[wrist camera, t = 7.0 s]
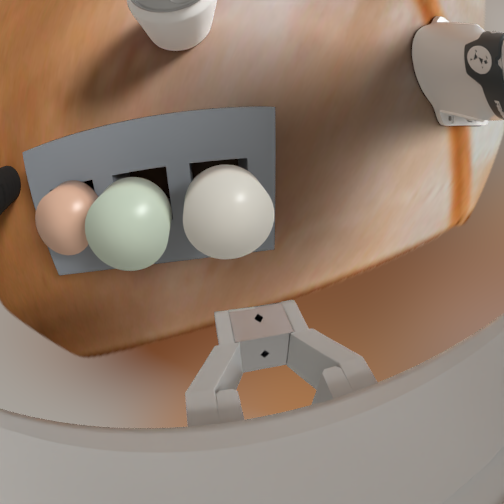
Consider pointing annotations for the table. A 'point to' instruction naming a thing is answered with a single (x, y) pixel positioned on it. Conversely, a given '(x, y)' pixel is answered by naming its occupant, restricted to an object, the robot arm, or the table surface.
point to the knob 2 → (227, 212)
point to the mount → (157, 164)
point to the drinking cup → (8, 186)
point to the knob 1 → (65, 216)
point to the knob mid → (129, 224)
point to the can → (174, 21)
